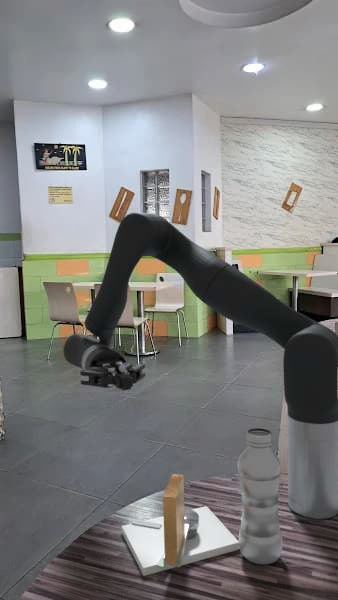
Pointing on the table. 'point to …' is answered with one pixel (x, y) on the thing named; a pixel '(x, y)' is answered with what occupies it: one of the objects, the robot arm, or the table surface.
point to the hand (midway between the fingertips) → (126, 384)
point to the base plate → (200, 542)
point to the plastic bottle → (259, 499)
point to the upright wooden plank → (176, 521)
